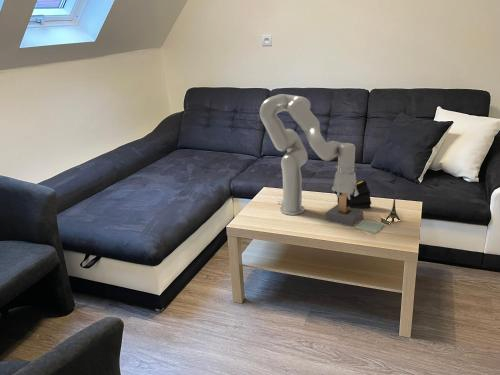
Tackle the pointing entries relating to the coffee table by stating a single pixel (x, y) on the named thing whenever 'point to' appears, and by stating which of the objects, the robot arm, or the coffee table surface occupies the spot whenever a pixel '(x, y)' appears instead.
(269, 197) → the coffee table surface
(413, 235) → the coffee table surface
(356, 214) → the grey flat block
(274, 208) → the coffee table surface
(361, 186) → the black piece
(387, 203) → the coffee table surface
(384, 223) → the eiffel tower figurine
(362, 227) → the mat
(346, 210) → the plug
